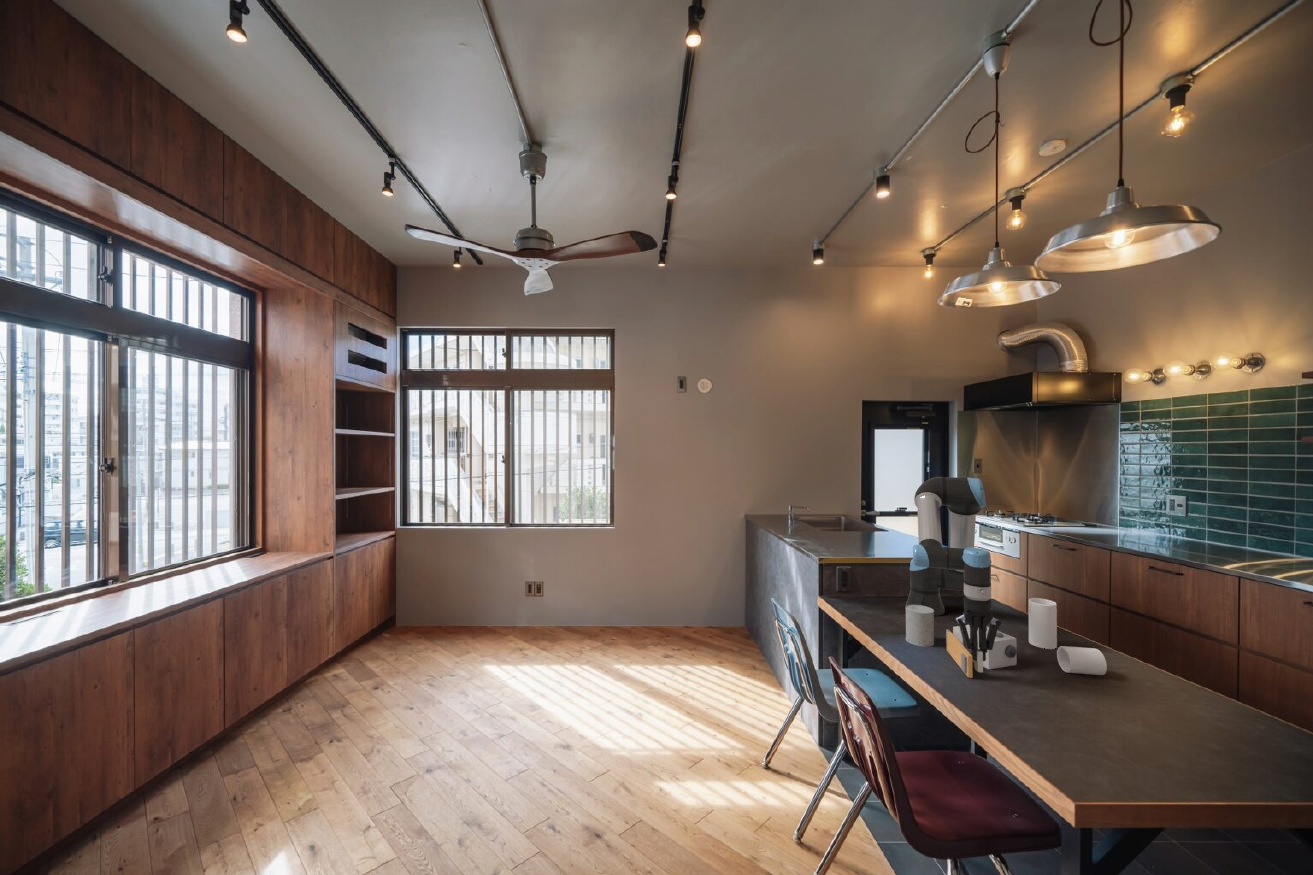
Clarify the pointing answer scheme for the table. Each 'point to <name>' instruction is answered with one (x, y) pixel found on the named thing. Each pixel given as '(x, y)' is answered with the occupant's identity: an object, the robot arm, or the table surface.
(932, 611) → the grey mottled cylinder
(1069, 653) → the mug
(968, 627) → the knobbed white cabinet
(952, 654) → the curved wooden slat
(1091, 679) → the table surface
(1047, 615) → the cup
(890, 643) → the table surface
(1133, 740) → the table surface
